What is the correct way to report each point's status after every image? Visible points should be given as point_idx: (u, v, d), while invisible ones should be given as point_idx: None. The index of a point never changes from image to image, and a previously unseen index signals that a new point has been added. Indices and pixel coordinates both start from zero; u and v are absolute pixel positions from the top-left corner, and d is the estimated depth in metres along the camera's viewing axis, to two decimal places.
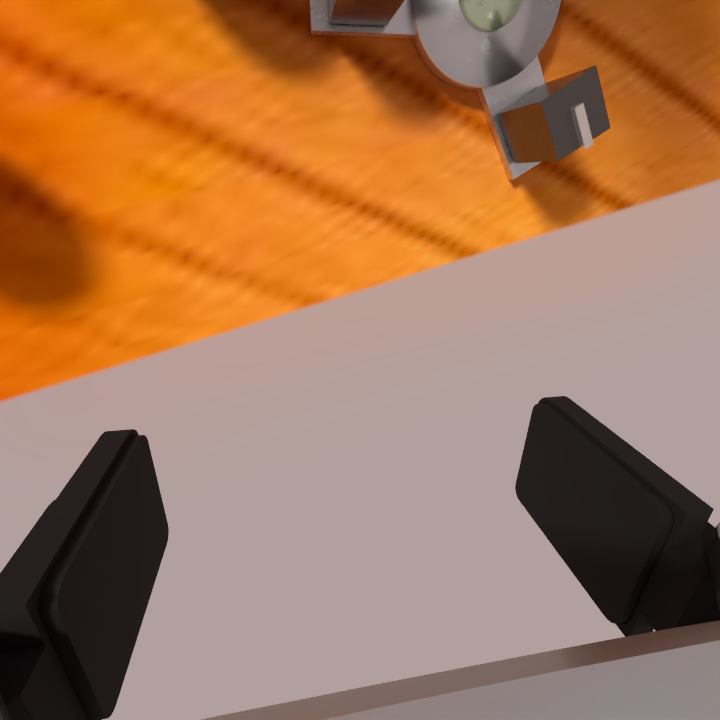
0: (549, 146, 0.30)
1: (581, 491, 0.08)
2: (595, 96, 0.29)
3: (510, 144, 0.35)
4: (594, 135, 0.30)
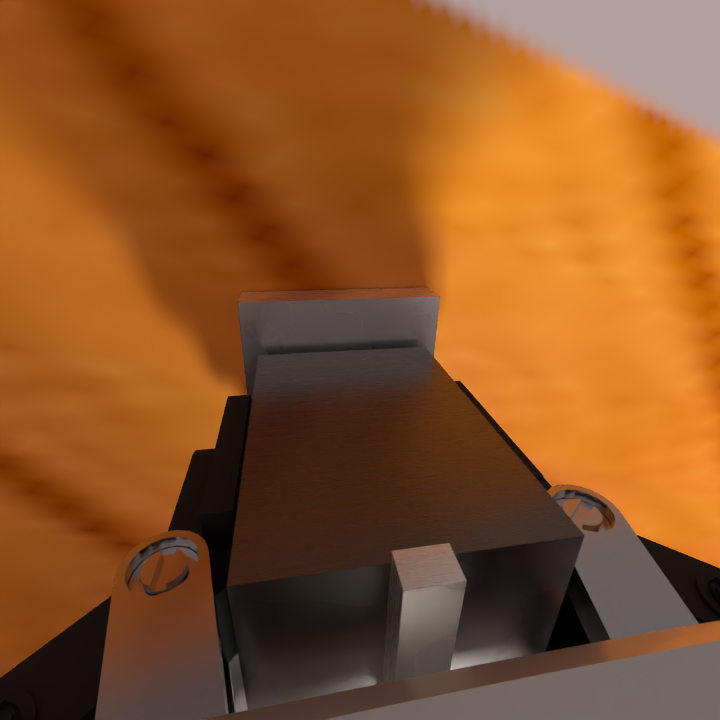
0: None
1: None
2: None
3: None
4: (344, 580, 0.05)
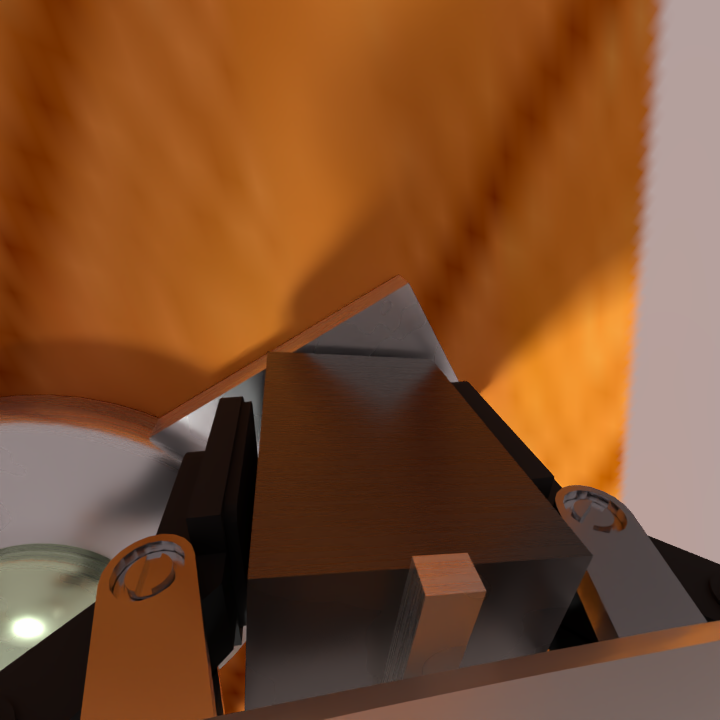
0: None
1: None
2: None
3: None
4: (361, 581, 0.05)
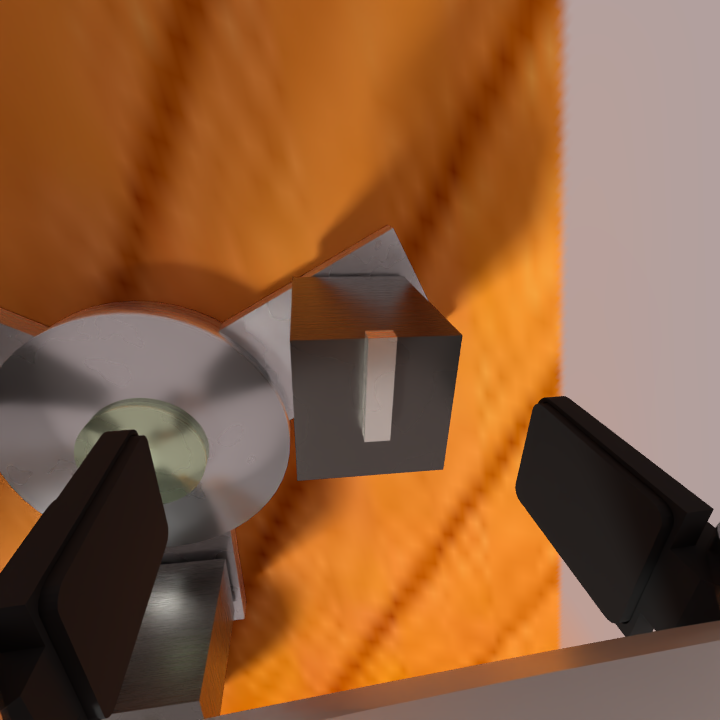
0: None
1: (581, 491, 0.08)
2: (315, 428, 0.11)
3: None
4: (342, 345, 0.10)
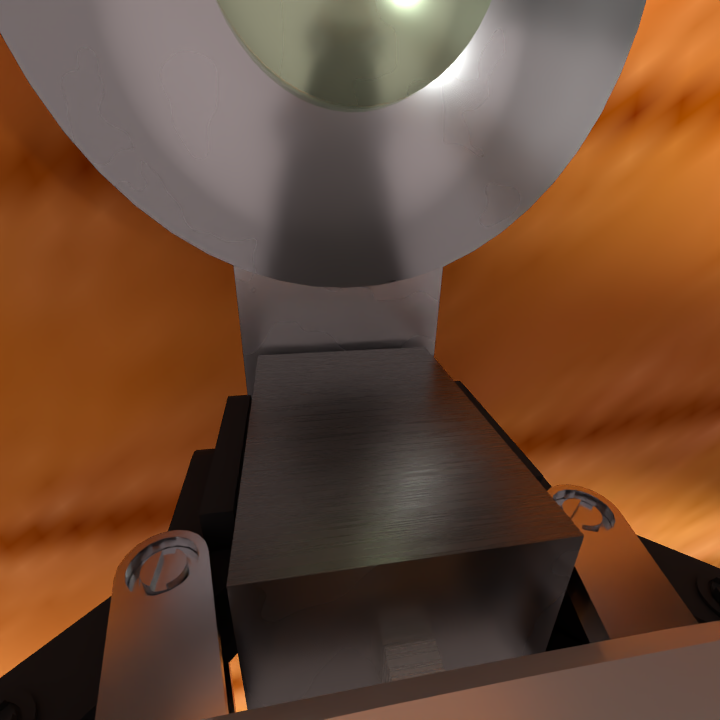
0: None
1: None
2: None
3: None
4: None
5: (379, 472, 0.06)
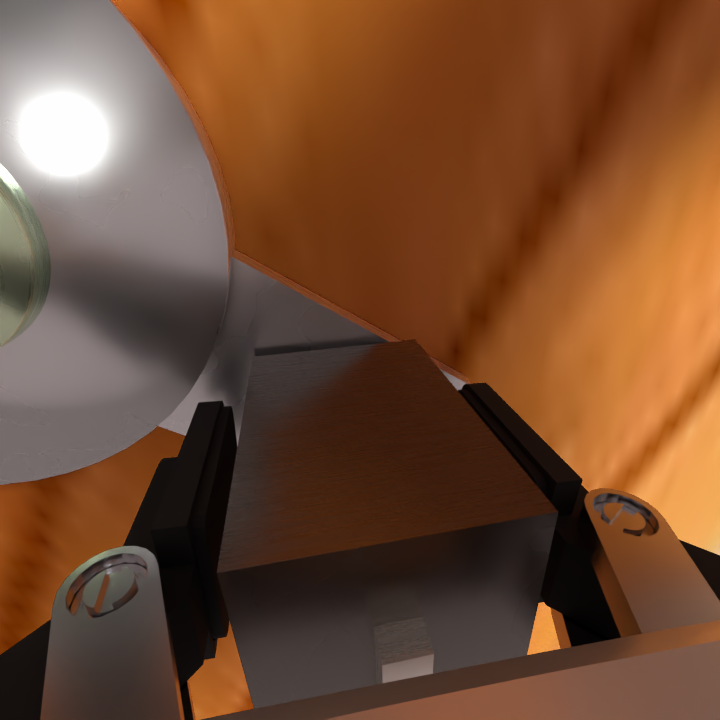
0: None
1: None
2: None
3: None
4: None
5: (364, 461, 0.06)
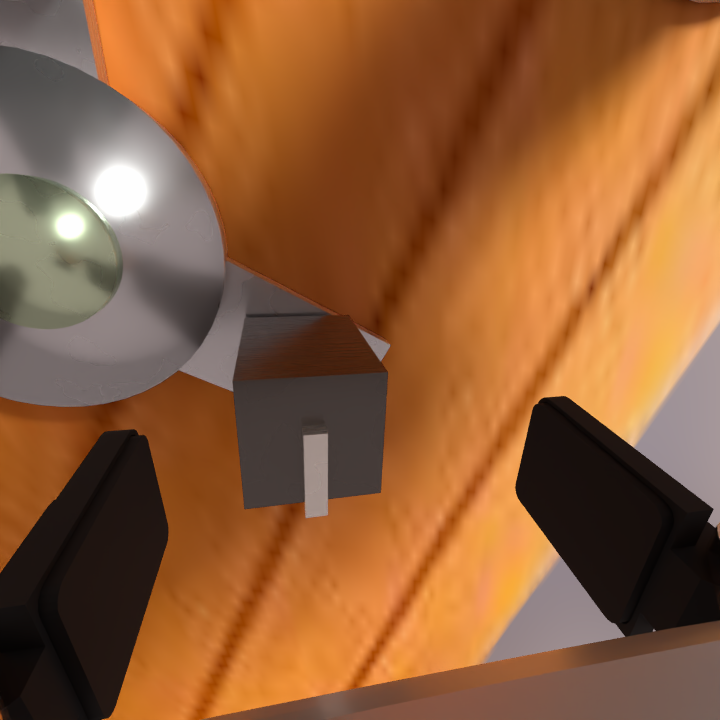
0: None
1: (581, 491, 0.08)
2: None
3: None
4: None
5: (303, 356, 0.13)
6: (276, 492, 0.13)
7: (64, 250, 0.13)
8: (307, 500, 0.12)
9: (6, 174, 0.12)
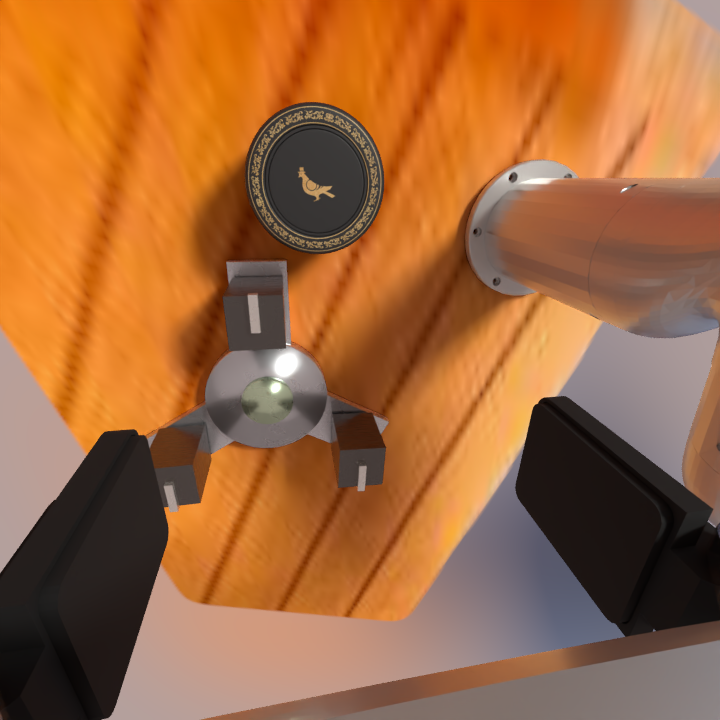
0: None
1: (581, 491, 0.08)
2: (189, 481, 0.36)
3: None
4: (185, 503, 0.37)
5: (358, 439, 0.39)
6: (348, 482, 0.39)
7: (278, 400, 0.40)
8: (358, 485, 0.39)
9: (265, 380, 0.39)
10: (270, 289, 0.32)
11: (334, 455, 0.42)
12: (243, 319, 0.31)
